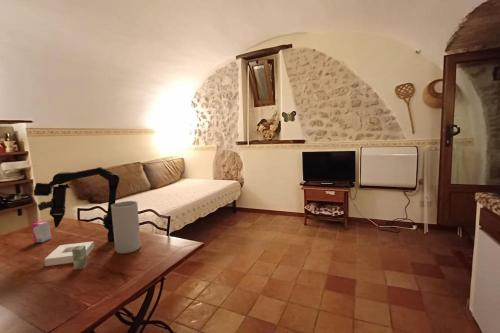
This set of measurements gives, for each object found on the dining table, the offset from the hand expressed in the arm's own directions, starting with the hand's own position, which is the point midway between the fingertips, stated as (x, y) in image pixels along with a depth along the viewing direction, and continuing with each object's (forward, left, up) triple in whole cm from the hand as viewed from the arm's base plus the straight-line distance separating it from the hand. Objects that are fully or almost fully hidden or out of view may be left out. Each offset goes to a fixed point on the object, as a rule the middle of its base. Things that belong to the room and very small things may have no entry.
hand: (56, 225), depth 134 cm
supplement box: (+16, -20, -15) cm, 29 cm away
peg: (-18, +22, -14) cm, 32 cm away
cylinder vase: (-36, +8, -15) cm, 39 cm away
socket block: (-9, +8, -14) cm, 19 cm away
